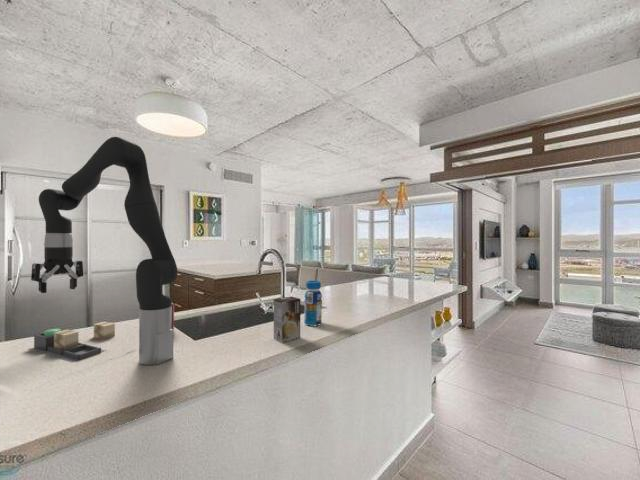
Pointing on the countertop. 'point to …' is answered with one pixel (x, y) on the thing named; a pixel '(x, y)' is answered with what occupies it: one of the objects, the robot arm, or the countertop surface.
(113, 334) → the loose billet
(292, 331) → the coffee box
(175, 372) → the countertop surface
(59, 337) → the block
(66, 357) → the grey compartment tray
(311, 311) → the beverage bottle
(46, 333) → the button
